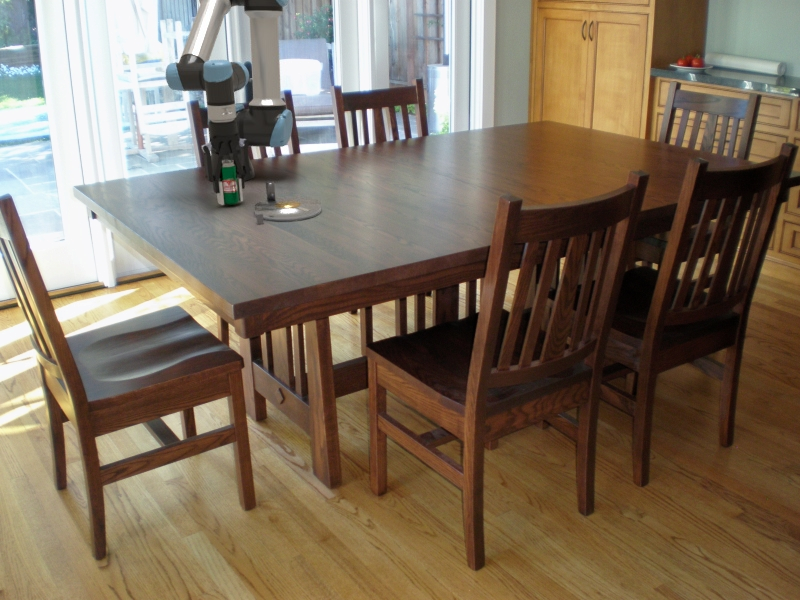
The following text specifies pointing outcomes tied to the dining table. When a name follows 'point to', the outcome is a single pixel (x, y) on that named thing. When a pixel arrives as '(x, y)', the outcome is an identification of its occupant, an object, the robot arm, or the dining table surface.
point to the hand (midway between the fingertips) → (230, 201)
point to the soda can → (229, 182)
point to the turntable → (286, 207)
